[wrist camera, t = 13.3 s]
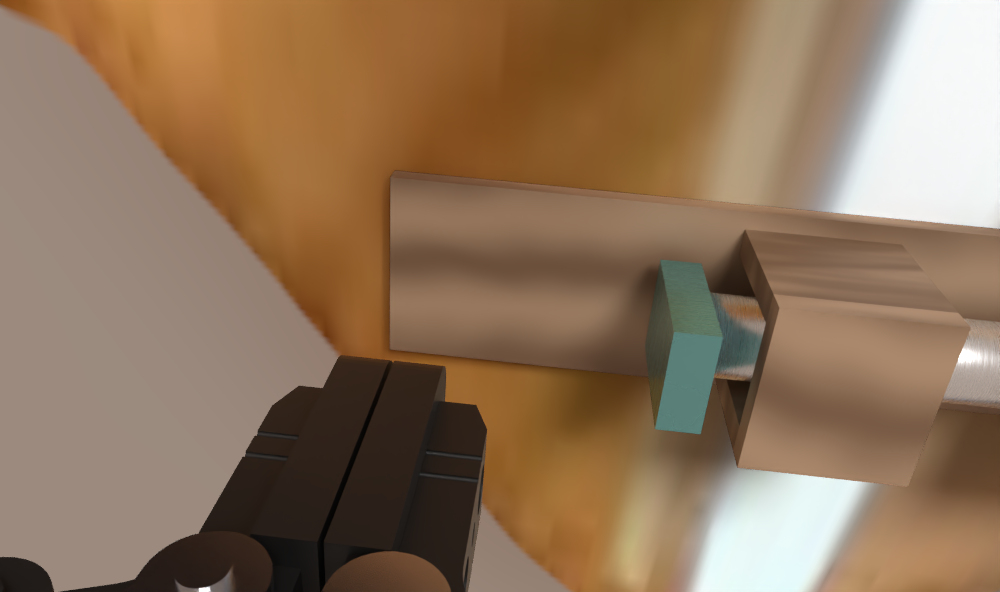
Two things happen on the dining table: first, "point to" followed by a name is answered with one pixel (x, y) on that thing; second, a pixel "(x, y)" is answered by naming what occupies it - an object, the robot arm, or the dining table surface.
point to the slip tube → (755, 349)
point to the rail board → (728, 270)
